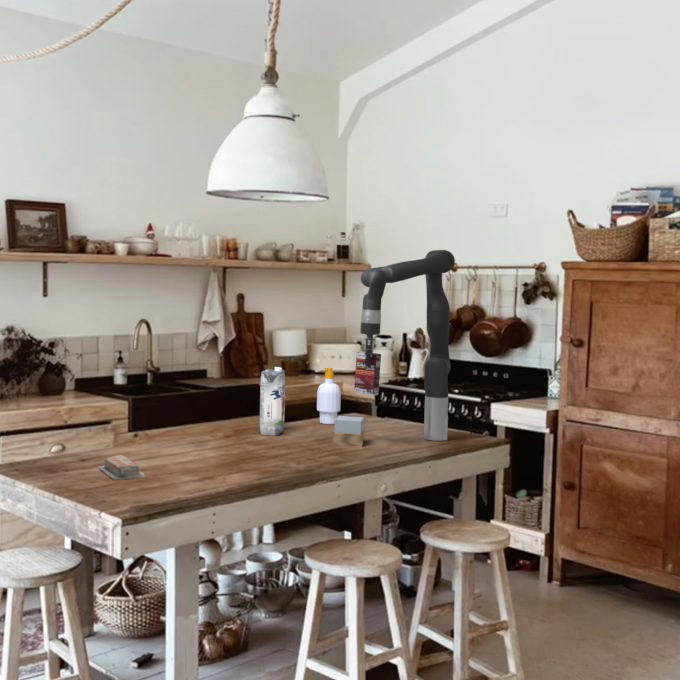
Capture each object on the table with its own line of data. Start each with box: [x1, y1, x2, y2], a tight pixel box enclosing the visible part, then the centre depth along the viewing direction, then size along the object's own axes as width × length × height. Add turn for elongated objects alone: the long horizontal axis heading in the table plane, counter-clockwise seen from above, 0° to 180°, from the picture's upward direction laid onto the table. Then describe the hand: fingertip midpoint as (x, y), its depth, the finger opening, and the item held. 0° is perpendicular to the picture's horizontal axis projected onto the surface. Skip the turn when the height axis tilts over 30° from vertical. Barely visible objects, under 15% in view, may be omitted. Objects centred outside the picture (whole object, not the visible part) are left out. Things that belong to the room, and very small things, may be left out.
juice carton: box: [259, 366, 286, 436], centre depth 353 cm, size 9×10×27 cm
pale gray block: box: [334, 415, 365, 434], centre depth 337 cm, size 10×10×5 cm
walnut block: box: [332, 430, 365, 447], centre depth 338 cm, size 11×11×5 cm
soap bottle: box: [316, 367, 342, 425], centre depth 381 cm, size 10×10×24 cm
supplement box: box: [353, 351, 382, 397], centre depth 335 cm, size 9×5×16 cm, turn 62°
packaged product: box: [98, 454, 146, 481], centre depth 279 cm, size 18×5×10 cm
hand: (368, 365), depth 335 cm, fingers closed on supplement box, 6 cm apart
